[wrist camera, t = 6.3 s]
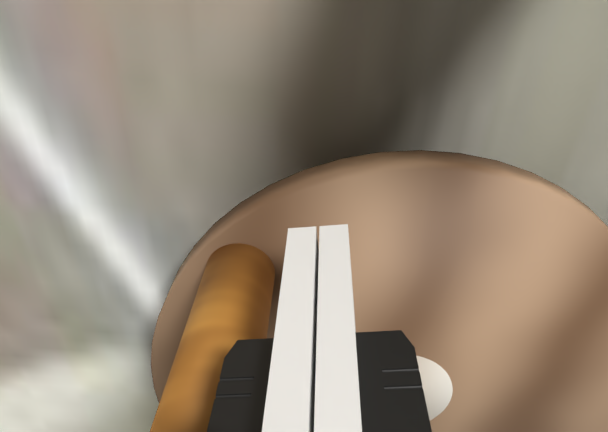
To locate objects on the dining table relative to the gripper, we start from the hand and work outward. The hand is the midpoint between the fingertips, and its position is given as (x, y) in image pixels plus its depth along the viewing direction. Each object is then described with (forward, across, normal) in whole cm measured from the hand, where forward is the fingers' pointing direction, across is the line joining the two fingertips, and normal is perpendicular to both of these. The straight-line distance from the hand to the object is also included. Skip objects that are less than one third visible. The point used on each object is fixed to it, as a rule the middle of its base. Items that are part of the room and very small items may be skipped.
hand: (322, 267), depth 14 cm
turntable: (+4, -2, +9) cm, 10 cm away
